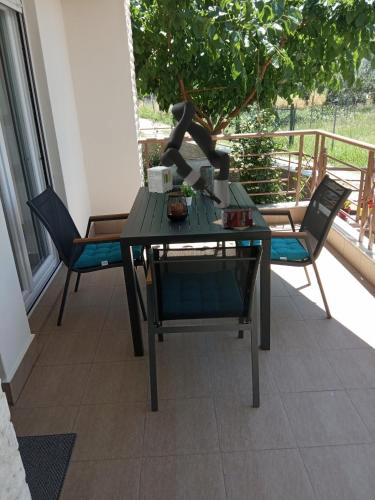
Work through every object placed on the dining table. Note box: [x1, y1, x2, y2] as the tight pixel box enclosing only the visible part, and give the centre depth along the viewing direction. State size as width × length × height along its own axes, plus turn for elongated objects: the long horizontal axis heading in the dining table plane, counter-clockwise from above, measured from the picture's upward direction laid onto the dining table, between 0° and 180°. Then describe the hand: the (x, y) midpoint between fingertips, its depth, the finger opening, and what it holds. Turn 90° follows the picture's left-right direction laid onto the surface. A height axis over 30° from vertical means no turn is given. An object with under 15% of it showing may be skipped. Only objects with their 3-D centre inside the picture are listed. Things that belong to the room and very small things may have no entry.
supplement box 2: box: [220, 207, 254, 229], centre depth 203 cm, size 9×5×16 cm
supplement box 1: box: [147, 165, 174, 194], centre depth 293 cm, size 13×13×18 cm
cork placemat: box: [212, 218, 256, 231], centre depth 210 cm, size 12×20×1 cm, turn 44°
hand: (220, 202), depth 198 cm, fingers closed
